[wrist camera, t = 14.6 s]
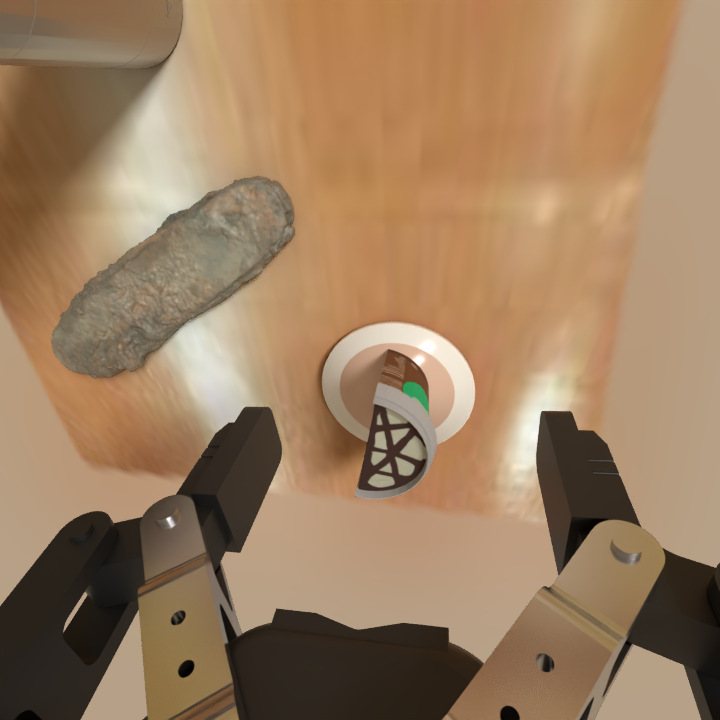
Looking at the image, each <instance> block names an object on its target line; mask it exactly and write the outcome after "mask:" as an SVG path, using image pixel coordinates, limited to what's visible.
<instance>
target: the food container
mask: <svg viewBox="0 0 720 720" xmlns="http://www.w3.org/2000/svg"><path fill="white" fill-rule="evenodd" d="M373 404H374V409H373V411H374V412H373V416H372V421H371V427H370V430H369V431H370V432H369V437H368V441H367V445H366V446H367V447H366V452H365V455H364V461H363V465H362V469H361V473H360V477H359V481H358V485H357V489H356V493H355V497H359V498H364V499H385V498H392V497H395V496H399V495H401V494H403V493H406V492H408V491H409V490H411V489H412V488H414V487H415V486H416V485H417V484H418V483H419V482H420V481H421V480H422V479H423V477H424V476H425V475H426V473H427V472H428V470H429V468H430V465H431V463H432V461H433V458H434V456H435V453H436V448H437V436H436V431H435V428H434V425H433V423H432V421H431V419H430V417H429V386H428V381H427V378H426V376H425V374H424V372H423V371H422V369H421V368H420V367H419V366H418V365H417V363H416V362H414V361H413V360H412V359H411V358H409V357H407V356H406V355H404V354H402V353H400V352H397V351H394V350H390V349H388V352H387V355H386V359H385V362H384V366H383V369H382V373H381V376H380V380H379V383H378V385H377V389H376V393H375V397H374V401H373Z"/></svg>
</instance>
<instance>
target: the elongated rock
mask: <svg viewBox="0 0 720 720" xmlns="http://www.w3.org/2000/svg"><path fill="white" fill-rule="evenodd" d="M293 210H294V209H293V205H292V202H291V199H290V197H289V196H288V194H287V192H286V191H285V190H284V188H283V187H282V186H281V184H280V183H278V182H277V181H271V180H270V179H268V178H266V177H260V176H256V177H252V178H244V179H240V180H234V182H233V184H231V185H229V186H227V187H225V188H224V189H222V190H219V191H212V192H209V193H207V195H205V196H204V197H203V198H202V199H201V200H200V201H198V202H197V203H195V204H194V205H193V206H192V207H191V208H189V209H186V210H182V211H179V212H177V213H174V214H171V215H169V217H167V220H166V221H164V222H163V224H162V226H161V227H160V228H158V229H157V232H156V233H155V234H154V235H152V236H150V237H148V238H147V239H145V240H144V241H143V242H141V243H139V244H138V245H137V246H135V247H133V248H131V249H130V250H129V251H127V252H126V253H125V255H123V256H122V257H121V258H119V259H118V260H117V262H116V263H114V264H109V267H108V269H106V270H104V271H99V272H98V273H97V276H96V277H94V278H92V279H90V280H89V281H88V283H86V284H85V285H84V289H83V291H81V292H79V294H76V295H75V297H74V299H73V300H71V304H70V305H71V306H70V307H69V309H68V310H67V311H65V312H63V313H62V314H61V315H60V316H61V320H60V321H59V323H58V325H57V327H56V328H55V330H53V334H52V339H51V343H52V349H53V352H54V354H55V356H56V357H57V358H58V360H59V361H60V362H61V363H62V364H63V365H64V366H65V367H66V368H67V369H69V370H71V371H73V372H76V373H81V374H88V375H91V376H92V377H93V378H98V377H100V378H103V377H106V378H109V377H112V376H114V375H116V374H117V373H119V372H121V370H122V369H124V370H125V369H128V370H129V371H131V372H133V371H135V370H137V369H138V368H140V367H141V366H142V365H143V364H144V362H145V361H144V357H145V356H146V355H147V354H148V352H152V351H154V350H155V349H158V348H159V347H160V346H161V345H162V344H163V343H164V342H165V340H166V339H168V338H169V337H170V336H171V335H173V334H174V333H175V331H176V330H178V329H179V327H181V326H182V325H184V324H185V322H186V321H188V320H189V319H190V318H194V317H195V316H197V315H198V314H200V313H203V312H205V311H206V310H208V309H209V308H210V307H211V306H215V305H216V304H219V303H220V302H222V301H223V300H224V299H226V298H227V297H229V296H230V295H232V294H233V292H234V291H235V290H237V289H238V288H239V287H240V286H241V285H242V284H243V283H244V282H246V281H249V280H251V279H252V278H254V277H255V276H257V275H259V274H260V273H261V272H262V270H263V268H264V267H265V265H266V264H267V263H269V262H270V261H271V259H272V258H273V257H274V255H275V254H276V253H277V252H279V251H280V250H281V248H282V247H283V245H284V244H285V243H287V242H289V241H290V240H291V239H292V238H293V237H294V235H295V228H293V227H292V226H291V225H292V224H293V221H294V212H293Z"/></svg>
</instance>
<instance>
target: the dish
mask: <svg viewBox="0 0 720 720" xmlns="http://www.w3.org/2000/svg"><path fill="white" fill-rule="evenodd" d="M388 349H390V350H394V351H397V352H400V353H402V354H404V355H406V356H407V357H409V358H411V359H412V360H413V361H414V362H416V363H417V365H418V366H419V367H420V368H421V369H422V371H423V372H424V374H425V376H426V378H427V381H428V386H429V417H430V419H431V421H432V423H433V425H434V428H435V431H436V436H437V444H440V443H442V442H444V441H446V440H447V439H449V438H450V437H452V436H453V435H454V434H456V433H457V432H458V431H459V430H460V429H461V428H462V427H463V425H464V424H465V423H466V421H467V420H468V418H469V416H470V414H471V412H472V409H473V405H474V401H475V384H474V377H473V374H472V370H471V368H470V366H469V363H468V362H467V360H466V358H465V357H464V355H463V354H462V353H461V351H460V350H459V349H458V348H457V347H456V346H455V345H454V344H453V343H452V342H451V341H449V340H448V339H447V338H445V337H444V336H442V335H441V334H439V333H437V332H435V331H434V330H432V329H429V328H427V327H424V326H421V325H418V324H414V323H410V322H402V321H384V322H376V323H372V324H368V325H365V326H362V327H360V328H358V329H356V330H354V331H352V332H350V333H349V334H347V335H346V336H345V337H343V338H342V339H341V340H340V341H339V342H338V343H337V344H336V346H335V347H334V348H333V350H332V351H331V353H330V355H329V357H328V359H327V361H326V363H325V366H324V369H323V374H322V389H323V395H324V398H325V401H326V403H327V406H328V408H329V410H330V411H331V413H332V414H333V416H334V417H335V418H336V420H337V421H338V422H339V423H340V424H341V425H342V426H343V427H344V428H345V429H346V430H348V431H349V432H350V433H351V434H353V435H355V436H356V437H358V438H359V439H361V440H363V441H365V442H367V441H368V437H369V432H370V431H369V430H370V427H371V421H372V416H373V412H374V411H373V409H374V404H373V401H374V397H375V393H376V389H377V385H378V383H379V380H380V376H381V373H382V369H383V366H384V362H385V359H386V355H387V352H388Z"/></svg>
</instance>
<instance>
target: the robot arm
mask: <svg viewBox="0 0 720 720" xmlns="http://www.w3.org/2000/svg"><path fill="white" fill-rule="evenodd" d="M182 16H183V15H182V0H0V65H12V66H56V67H100V68H134V69H143V68H149V67H153V66H155V65H157V64H159V63H161V62H162V61H163V60H164V59H166V58H167V57H168V56H169V55H170V53H171V52H172V50H173V48H174V47H175V45H176V43H177V40H178V37H179V34H180V31H181V24H182ZM281 455H282V446H281V441H280V438H279V434H278V431H277V427H276V424H275V420H274V417H273V413H272V411H271V409H270V408H269V407H245V408H244V409H243V410H242V411H241V413H240V415H239V416H238V418H237V419H236V421H235V423H228V424H227V425H226V426H224V427H223V428H222V429H221V430H219V431H218V432H217V433H216V434H215V436H214V437H213V439H212V440H211V442H210V443H209V445H208V448H206V449H205V451H204V452H203V454H202V455H201V458H199V460H198V462H197V463H196V465H195V466H194V468H193V469H192V471H191V472H190V474H189V475H188V477H187V478H186V480H185V481H184V483H183V484H182V486H181V488H180V489H179V491H178V492H177V494H176V495H172V496H168V497H166V498H163V499H162V500H159V501H158V502H156V503H155V504H153V505H152V506H151V507H150V508H149V509H148V510H147V511H146V512H145V514H144V515H143V517H140V518H136V519H131V520H127V521H122V522H118V523H113V521H112V520H111V518H110V517H109V515H108V514H106V513H105V512H101V511H94V512H89V513H86V514H83V515H81V516H79V517H77V518H75V519H73V520H72V521H70V522H69V523H68V524H66V525H65V526H64V527H63V528H62V529H61V530H60V531H59V533H58V534H57V535H56V536H55V538H54V539H53V540H52V541H51V543H50V544H49V545H48V547H47V548H46V549H45V550H44V551H43V553H42V554H41V555H40V557H39V558H38V559H37V560H36V562H35V563H34V564H33V566H32V567H31V568H30V569H29V570H28V572H27V573H26V574H25V576H24V577H23V578H22V579H21V581H20V582H19V583H18V584H17V586H16V587H15V588H14V590H13V591H12V592H11V593H10V595H9V596H8V597H7V598H6V600H5V601H4V602H3V603H2V605H1V606H0V720H80V719H81V718H82V716H83V714H84V712H85V710H86V708H87V706H88V704H89V702H90V701H91V698H92V697H93V695H94V693H95V691H96V689H97V687H98V685H99V683H100V682H101V680H102V678H103V676H104V674H105V672H106V670H107V668H108V666H109V664H110V663H111V661H112V659H113V657H114V655H115V653H116V651H117V649H118V647H119V645H120V644H121V642H122V640H123V638H124V636H125V634H126V632H127V630H128V628H129V626H130V624H131V623H132V621H133V619H134V617H135V615H136V613H137V611H138V610H139V616H140V628H141V641H142V653H143V665H144V677H145V691H146V703H147V716H146V717H145V718H144V719H143V720H595V718H596V716H597V714H598V711H599V709H600V707H601V705H602V703H603V701H604V699H605V698H606V696H607V694H608V692H609V690H610V688H611V686H612V684H613V683H614V681H615V679H616V677H617V675H618V673H619V671H620V669H621V667H622V666H623V664H624V662H625V660H626V658H627V656H628V654H629V652H630V651H631V649H632V647H633V645H637V646H639V647H642V648H644V649H646V650H649V651H651V652H653V653H656V654H658V655H661V656H663V657H666V658H668V659H670V660H673V661H675V662H678V663H680V664H683V665H684V667H685V670H686V674H687V677H688V680H689V683H690V686H691V689H692V692H693V695H694V698H695V701H696V704H697V707H698V710H699V713H700V717H701V720H720V563H719V564H718V565H717V567H716V568H714V567H711V566H708V565H705V564H702V563H699V562H696V561H692V560H689V559H686V558H683V557H680V556H678V555H675V554H673V553H671V552H669V551H667V550H665V549H664V548H662V547H661V545H660V543H659V542H658V541H657V540H656V538H655V537H654V536H652V535H651V534H650V533H649V532H648V531H646V530H644V529H643V528H642V527H641V525H640V524H639V521H638V519H637V516H636V514H635V511H634V509H633V506H632V504H631V502H630V499H629V497H628V494H627V492H626V489H625V487H624V484H623V482H622V480H621V477H620V476H619V472H618V470H617V467H616V465H615V463H614V462H613V457H612V455H611V453H610V450H609V448H608V445H607V444H606V443H605V442H604V441H603V440H602V439H601V438H600V437H599V436H598V435H597V434H596V433H595V432H594V431H585V430H578V428H577V425H576V422H575V420H574V417H573V414H572V412H570V411H542V412H541V416H540V425H539V434H538V443H537V453H536V464H537V473H538V479H539V483H540V488H541V493H542V498H543V503H544V508H545V513H546V517H547V522H548V527H549V532H550V537H551V542H552V546H553V551H554V556H555V561H556V566H557V571H558V575H559V576H558V578H557V579H556V580H555V582H554V583H553V584H552V586H550V587H549V588H548V587H546V586H544V587H542V588H541V589H540V590H539V591H538V592H537V593H536V594H535V596H534V597H533V598H532V600H531V601H530V602H529V604H528V605H527V606H526V608H525V609H524V610H523V612H522V613H521V614H520V616H519V617H518V618H517V620H516V621H515V623H514V624H513V625H512V627H511V628H510V629H509V631H508V632H507V633H506V635H505V636H504V637H503V639H502V640H501V642H500V643H499V644H498V646H497V647H496V648H495V650H494V651H493V652H492V654H491V655H490V656H489V658H488V659H487V660H486V662H485V663H483V662H482V661H481V660H479V659H478V658H477V657H475V656H474V655H473V654H471V653H470V652H468V651H466V650H465V649H463V648H461V647H459V646H457V645H455V644H452V643H450V642H449V630H448V628H444V627H435V626H427V625H418V624H408V623H400V624H393V625H387V626H381V627H374V628H368V629H361V630H357V629H353V628H350V627H348V626H346V625H343V624H341V623H338V622H336V621H334V620H331V619H329V618H326V617H324V616H322V615H319V614H317V613H311V612H301V611H293V610H284V609H276V612H275V614H274V618H273V621H272V623H268V624H264V625H262V626H258V627H255V628H253V629H251V630H248V631H246V632H245V633H242V631H241V628H240V626H239V622H238V619H237V616H236V612H235V609H234V605H233V601H232V598H231V594H230V590H229V587H228V583H227V579H226V576H225V572H224V569H223V566H222V563H221V560H222V557H223V556H224V553H225V551H227V552H238V553H239V552H241V550H242V547H243V545H244V543H245V541H246V538H247V536H248V534H249V531H250V529H251V527H252V525H253V522H254V520H255V518H256V516H257V513H258V511H259V509H260V506H261V504H262V502H263V500H264V498H265V495H266V493H267V491H268V489H269V486H270V484H271V482H272V480H273V477H274V475H275V473H276V471H277V468H278V466H279V464H280V461H281ZM84 592H86V593H87V594H88V595H87V597H86V599H85V600H84V602H83V603H82V605H81V606H80V608H79V610H78V611H77V613H76V614H75V616H74V617H73V619H72V621H71V622H70V624H69V625H68V627H67V628H66V630H65V631H64V633H63V629H64V625H65V622H66V620H67V618H68V617H69V615H70V613H71V612H72V610H73V609H74V607H75V606H76V604H77V603H78V601H79V600H80V598H81V596H82V595H83V593H84Z"/></svg>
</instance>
